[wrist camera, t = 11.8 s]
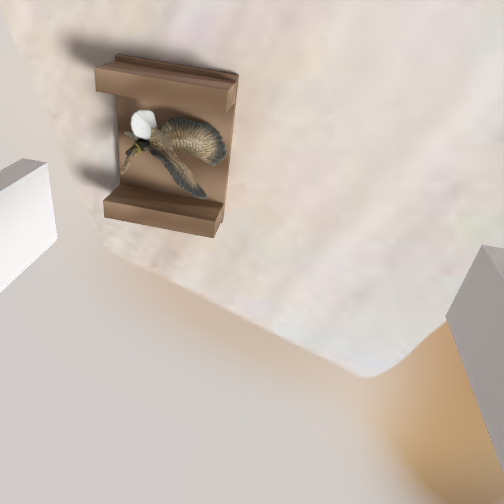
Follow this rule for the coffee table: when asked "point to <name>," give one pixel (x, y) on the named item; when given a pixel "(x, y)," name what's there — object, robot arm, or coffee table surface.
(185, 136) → the eagle figurine
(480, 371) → the robot arm
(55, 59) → the coffee table surface
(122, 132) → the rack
